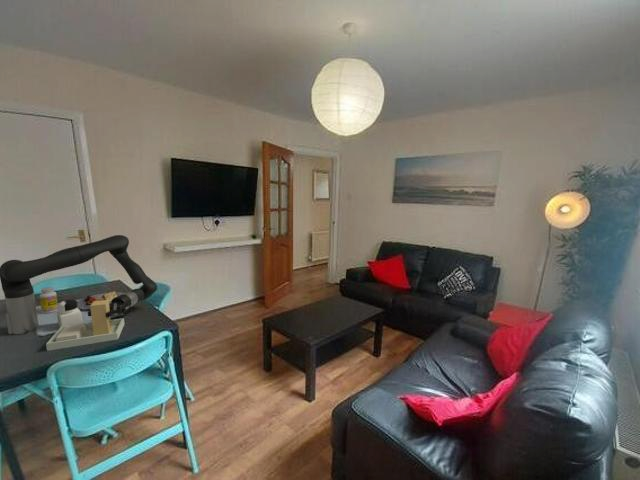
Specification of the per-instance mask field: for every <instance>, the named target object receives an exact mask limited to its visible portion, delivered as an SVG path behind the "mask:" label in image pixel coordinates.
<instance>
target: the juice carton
mask: <svg viewBox="0 0 640 480" xmlns="http://www.w3.org/2000/svg"><path fill="white" fill-rule="evenodd" d="M89 308H90V309H89V310H90V311H91V316H90V317H91V323H92V326H93V334H94V336H96V335H103V334H109V333H111V331H112V327H111V320H112V319H111V316H110V317H108V318H106V313H107V312H109V311H110V308H109V300H102V301H94V302H93V303H92V304H91V305H90V306H89Z"/></svg>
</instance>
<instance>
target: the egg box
mask: <svg viewBox="0 0 640 480" xmlns="http://www.w3.org/2000/svg"><path fill="white" fill-rule="evenodd" d="M85 323H86V322H85ZM85 323H84V322H83V324H75V325H68V326H66V327H65V328H64V329H63V330H62V331H61V333H60V334H59V335H58V336H57V337H56V342H57V341H63V340H70V339H76V338H82V337H83V336H84V334H85V333H86V325H85Z"/></svg>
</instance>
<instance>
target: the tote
mask: <svg viewBox="0 0 640 480" xmlns="http://www.w3.org/2000/svg"><path fill="white" fill-rule="evenodd" d="M125 324H126V323H125V318H122V317H121V318H117V319H116V318H115V319H111V327H112V331H111V333H109V334H103V335H96V336H94V334H93V326H92V322H85V325H86V333H85V334H84V336H83V337H82V338H76V339H70V340H63V341H57V342H56V337H57V336H58V335H59V334H60V333H61V331H62V330H63V329H64V328H65V327H66V326H63V327H59V329H58V330H56V332H55V333H54V334H53V335H52V336H51V337H50V339H49V340H48V341H47V342H46V344H45V347H46V351H47V352H48V351H54V350H61V349H68V348H72V347H78V346H79V347H80V346H85V345H91V344H92V345H93V344H98V343H105V342H111V341H117V340H119V338H120V335H121V334H122V330H123V328H124V326H125Z"/></svg>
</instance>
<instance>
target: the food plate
mask: <svg viewBox="0 0 640 480" xmlns="http://www.w3.org/2000/svg"><path fill="white" fill-rule="evenodd" d="M124 293H125V292H119V291H115V290H112V291H110V292H109V291H108V292H102V293H101V292H100V293H95V294H91V295H87V296H85V297H84V298H82V299H80V300H78V301H77V306H78V309H79V310H91V309H90V305H91V304H92V303H93V302H94V301H102V300H109V303H110V302H111V301H112V299H113V298H115V297H117V296H119V295H122V294H124Z"/></svg>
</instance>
